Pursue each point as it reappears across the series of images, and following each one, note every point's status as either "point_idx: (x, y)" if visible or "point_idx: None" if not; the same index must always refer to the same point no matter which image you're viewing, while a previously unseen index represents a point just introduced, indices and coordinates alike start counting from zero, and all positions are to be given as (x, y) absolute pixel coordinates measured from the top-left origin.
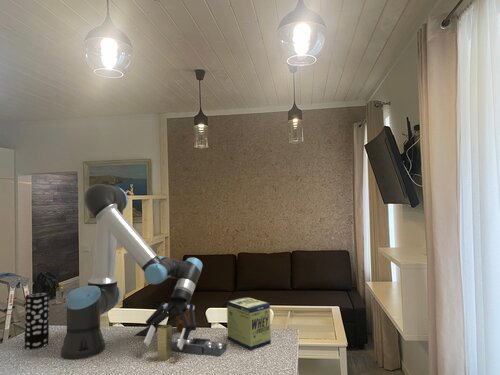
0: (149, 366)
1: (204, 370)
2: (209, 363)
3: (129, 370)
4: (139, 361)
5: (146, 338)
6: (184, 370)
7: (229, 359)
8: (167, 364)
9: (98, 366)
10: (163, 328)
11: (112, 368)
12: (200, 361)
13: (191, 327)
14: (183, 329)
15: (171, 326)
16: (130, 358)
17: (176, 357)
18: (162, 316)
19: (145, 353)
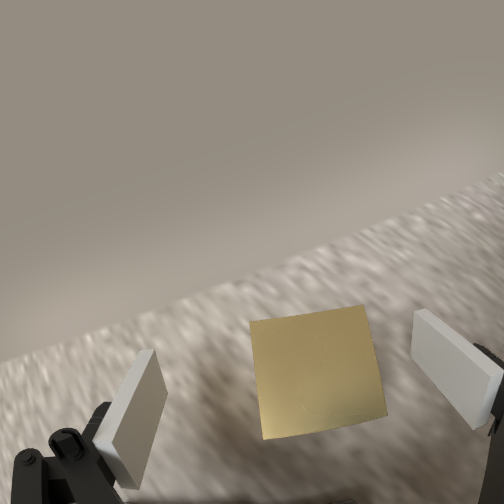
0: (299, 296)
1: (48, 347)
2: (51, 413)
3: (348, 235)
4: (387, 315)
5: (432, 322)
6: (117, 323)
7: (6, 460)
8: (228, 348)
9: (468, 217)
10: (286, 318)
11: (418, 223)
12: None
13: (48, 462)
14: (109, 432)
15: (263, 437)
16: (448, 318)
17: (237, 438)
18: (499, 484)
19: (437, 396)
